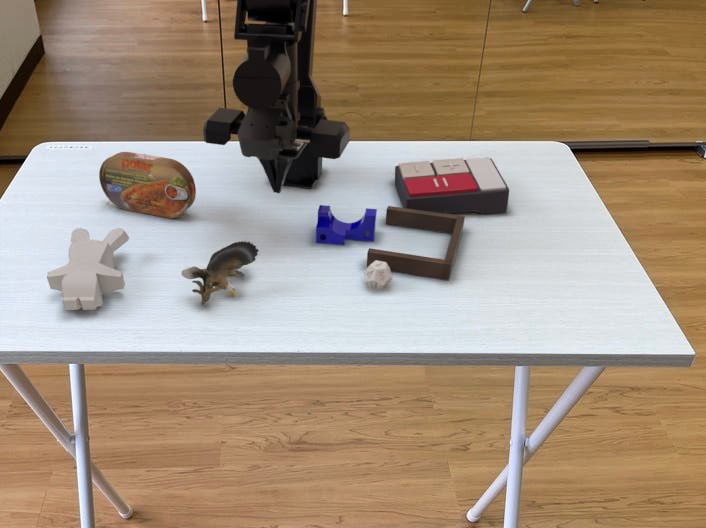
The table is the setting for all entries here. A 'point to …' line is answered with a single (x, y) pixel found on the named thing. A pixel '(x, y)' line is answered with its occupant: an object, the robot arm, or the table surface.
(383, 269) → the game die
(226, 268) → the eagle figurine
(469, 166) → the calculator
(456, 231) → the square wooden border
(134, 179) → the tin
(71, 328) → the table surface
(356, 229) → the cable holder
